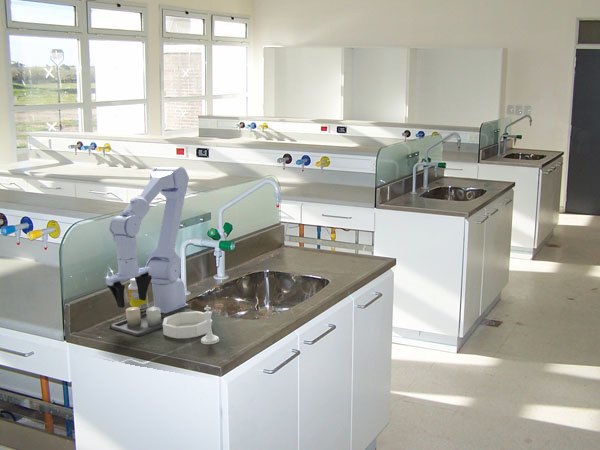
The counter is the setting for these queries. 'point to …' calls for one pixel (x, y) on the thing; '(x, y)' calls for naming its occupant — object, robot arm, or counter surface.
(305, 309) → the counter surface
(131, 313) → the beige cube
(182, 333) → the bowl
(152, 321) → the pebble grey
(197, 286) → the counter surface
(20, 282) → the counter surface
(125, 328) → the tray
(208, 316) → the chess piece
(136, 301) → the supplement bottle
